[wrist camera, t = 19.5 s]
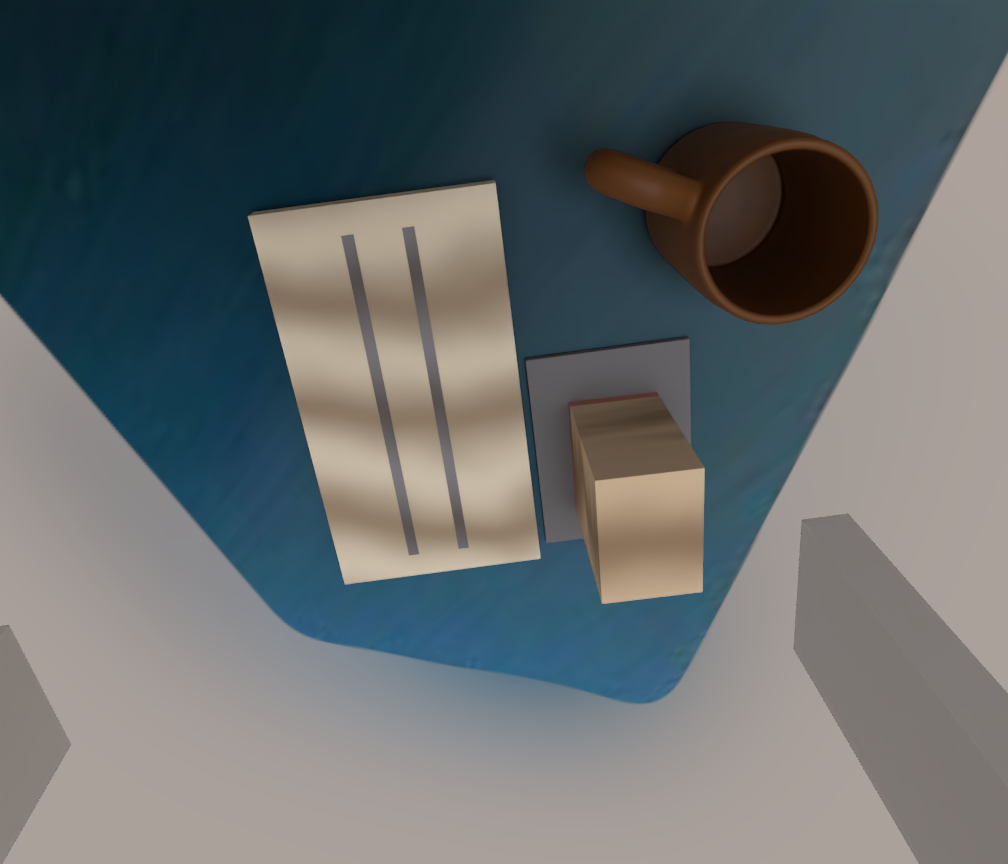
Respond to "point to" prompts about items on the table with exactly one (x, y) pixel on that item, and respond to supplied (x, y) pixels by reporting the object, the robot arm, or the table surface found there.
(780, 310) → the mug
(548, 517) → the mat
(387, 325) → the board
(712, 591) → the table surface
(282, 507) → the table surface
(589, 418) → the block
